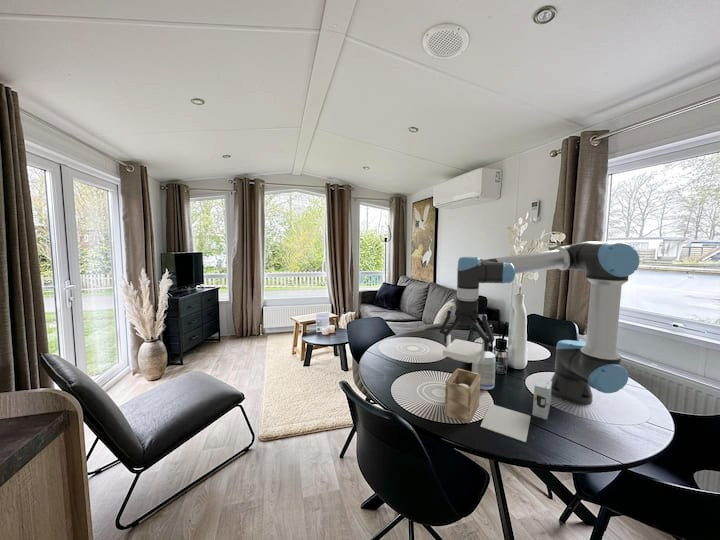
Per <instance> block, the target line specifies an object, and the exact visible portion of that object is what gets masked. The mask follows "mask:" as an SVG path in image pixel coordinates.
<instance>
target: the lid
mask: <svg viewBox="0 0 720 540" xmlns="http://www.w3.org/2000/svg"><path fill="white" fill-rule="evenodd" d="M446 346H447V345H446ZM481 354H482V343H478V342H473V341H468V340H464V339H457V338H455V339H453V341H451V344H449V345H448V346H447V347H445V348H444V349H443V350H442V356H443V357H448V358H450V359H452V360H455V361H459V362H464V363H468V364H472V363H478V362H479V360H480V359H481Z"/></svg>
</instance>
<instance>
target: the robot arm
mask: <svg viewBox="0 0 720 540" xmlns="http://www.w3.org/2000/svg"><path fill="white" fill-rule="evenodd" d="M638 253H639V252H638V250H636V249H635V248H634V246H632V245H631V244H629V243H626V242H620V241H613V240H611V241H592V240H591V241H590V240H589V241H584V242H577V243H574V244H568V245H562V246H558V247H556V248H555V249H554V250H553V249H552V250H546V251H537V252H530V253H524V254H523V253H522V254H515V255H510V256H503V257H502V256H500V257H494V258H487V259H482V258H480V257H478V256H462V257H459V258H458V261H457V269H456V271H457V274H456V275H457V278H456V279H457V282H456V298H457V299H456V306H455V307H456V308H455V310H453V309H448V310H447V313H446V318H445V320H444V322H443V323H442V325H441V328H440V329H439V334H442V335H444V339H443V341H444V342H443V343H444V344H446V347H447V346H448V345H449V344H451V343H452V339H451V338H452V334H450V333H451V332H452V331H453V330H454V329H455V327H457V325H458V324H459V323H461V324H463V325H465V324H466V325H467V326H468V325H469V326H470V325H471V326H472V327H474V329H475V331H476V332H477V333H478V335H479V337H480V338H481V339H482V342H481V344H482V354H481V360H482V361H484V359H485V352H487V351H489V347H490V346H489V345H490V344H489V343H491V344H492V343H494V342H495V339H496V338H495V337H494V333H493V331H492V329H491V326H490V324H489V321H488V314H487V313H484V314H480V313H479V300H478V299H479V292H480V290H479V289H480V288H479V287H480V284H502V285H503V284H511V283H512V282H513V281H514V280H515V276H516V275H519V274H526V273H534V272H540V271H541V272H542V271H549V270H557V269H558V270H560V271H569V270H571V271H573V270H575V271H584V272H585V273H586V274H585V279H586V280H587V281H588V282H589V283H590V287H589V290H590V291H589V299H588V300H589V302H588V312H587V314H588V315H587V323H586V324H587V325H586V327H587V328H586V338H585V341H579V340H572V339H563V340H559V341H558V342H557V343H556V347H555V350H556V351H555V361H554V372H553V373H554V374H553V375H552V377H551V379H550V381H552V388H551V396H553V397H556V398H557V399H558V400H559V399H560V400H562V401H565V402H569V403H572V404H577V405H588V404H591V403H592V402H593V391H592V389H595V390H596V391H598V392H599V393H600V392H601V393H602V394H614V393H617V392H619V391H621V389H624V387H625V386H626V385H627V383H628V382H629V372H628V371H627V369H625V367H624V366H623V365H621V362H622V361H621V360H622V355H621V354H620V353H619V352H618V351H617V342H618V329H619V319H620V309H621V297H622V286H623V285H624V284H625V283H627V282H629V276H631V275H633V274H634V273H635V271H637V270H638V268H639V267H640V266H639V265H640V256H639V254H638ZM453 316H455V317H456V318H457V319H456V320H455V321H454V322H453V323H452V324H451V325H450V326H449V327H448V325H449V323H450V321H451V319H452V317H453ZM478 319H480V321H481V322H482V325H483V327H484V329H483V328H482V327H481V325H480V324H479V322H478ZM447 327H448V328H447ZM446 329H447V330H446ZM446 347H445V348H446ZM591 388H592V389H591Z"/></svg>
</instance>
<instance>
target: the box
mask: <svg viewBox="0 0 720 540" xmlns="http://www.w3.org/2000/svg"><path fill="white" fill-rule="evenodd" d="M459 384H466V385H468V386H469V387H466V386H463V385H459ZM480 390H481V389H480V374H478V373H474V372H472V371H470V370H465V369H463V368H456V369H454V371H453V372H452V374H451V375H450V376H449V378H447V380H446V381H445V393H444V395H445V396H444V397H445V400H444V416H447V417H450V418H453V419H455V420H457V421H461V422H463V423H466V424H471V421H473V417H474V416H475V414H476V412H477V410H478V408H479V406H480Z"/></svg>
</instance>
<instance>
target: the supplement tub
mask: <svg viewBox="0 0 720 540" xmlns="http://www.w3.org/2000/svg"><path fill="white" fill-rule="evenodd" d="M471 372H474V373H478V374H480V390H486V391H488V390H493V389H494V388H495V385H496V384H495V383H496V381H495V379H496V354H495V353H493V352H491V351H489V350H488V351H487V352H485V359H484V361H482V360H481V359H480V360H479V362H478V363H472V362H471Z"/></svg>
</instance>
